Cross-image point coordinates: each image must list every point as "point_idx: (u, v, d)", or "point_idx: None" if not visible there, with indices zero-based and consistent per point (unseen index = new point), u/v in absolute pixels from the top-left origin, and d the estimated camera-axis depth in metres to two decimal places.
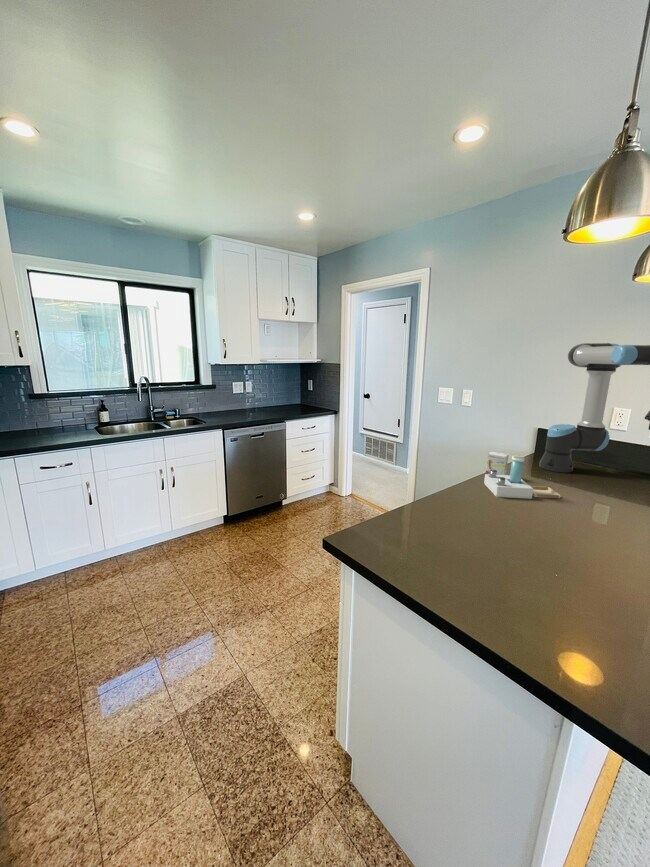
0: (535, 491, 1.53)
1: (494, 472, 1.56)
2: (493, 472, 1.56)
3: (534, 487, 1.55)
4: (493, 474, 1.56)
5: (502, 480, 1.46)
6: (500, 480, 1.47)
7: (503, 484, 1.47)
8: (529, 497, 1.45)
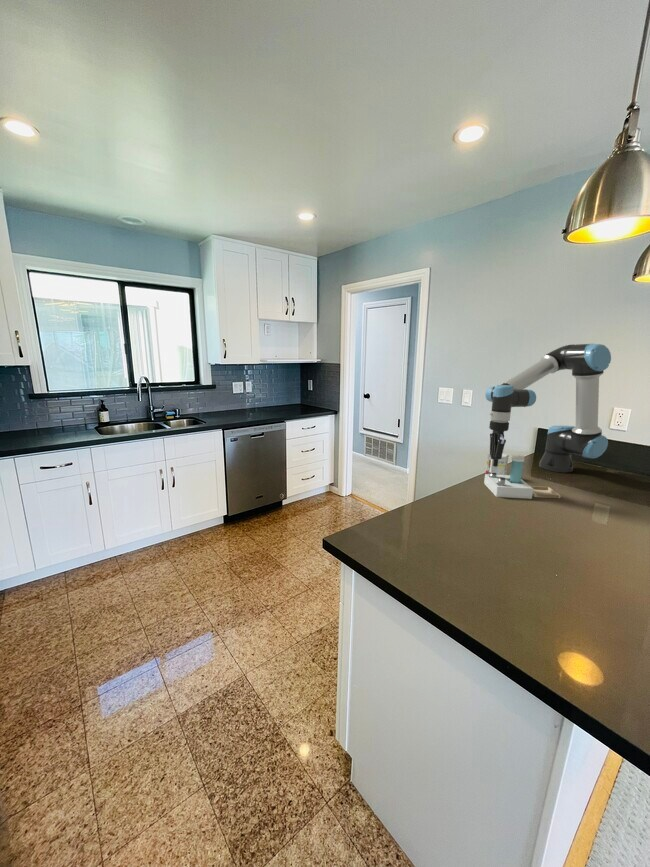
0: (535, 491, 1.53)
1: (494, 475, 1.56)
2: (493, 474, 1.56)
3: (534, 487, 1.55)
4: (492, 477, 1.57)
5: (502, 480, 1.46)
6: (500, 480, 1.47)
7: (503, 484, 1.47)
8: (529, 497, 1.45)
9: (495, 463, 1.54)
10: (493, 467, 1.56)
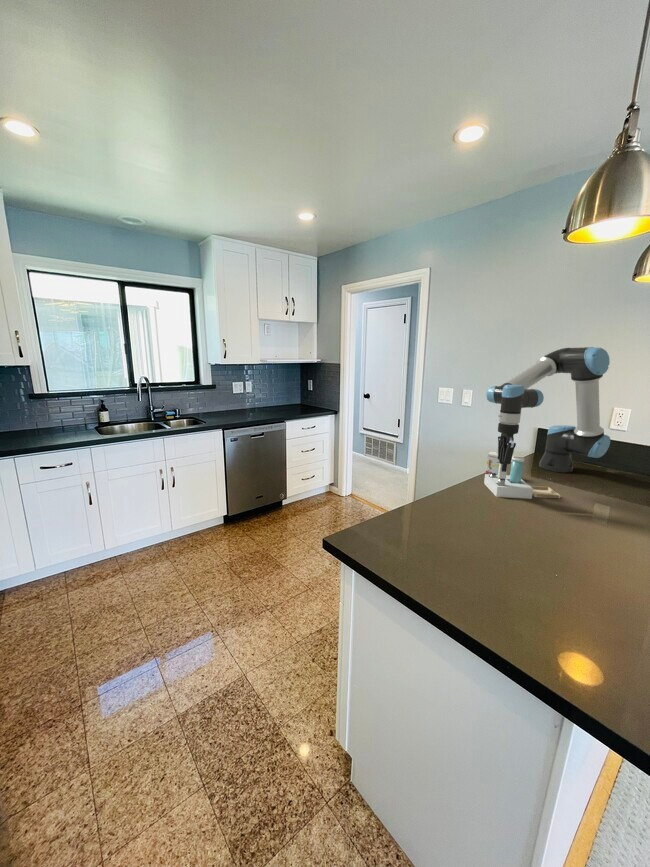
0: (535, 491, 1.53)
1: (494, 475, 1.56)
2: (493, 475, 1.57)
3: (534, 487, 1.55)
4: (492, 477, 1.57)
5: (502, 480, 1.46)
6: (500, 480, 1.47)
7: (503, 484, 1.47)
8: (529, 497, 1.45)
9: (504, 468, 1.45)
10: (501, 472, 1.46)
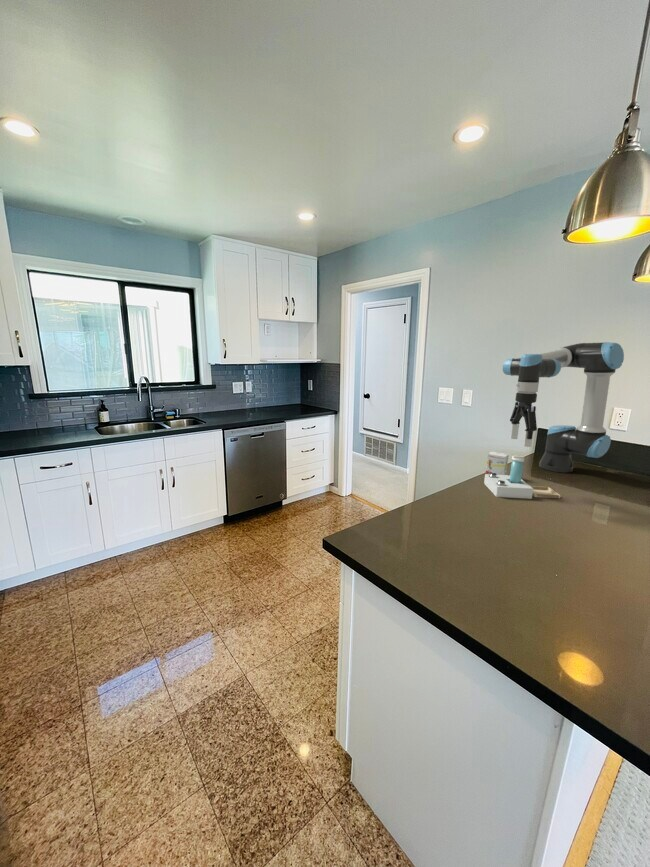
0: (535, 491, 1.53)
1: (494, 475, 1.56)
2: (493, 475, 1.57)
3: (534, 487, 1.55)
4: (492, 477, 1.57)
5: (502, 483, 1.47)
6: (500, 483, 1.47)
7: None
8: (529, 497, 1.45)
9: (529, 435, 1.39)
10: (527, 440, 1.41)
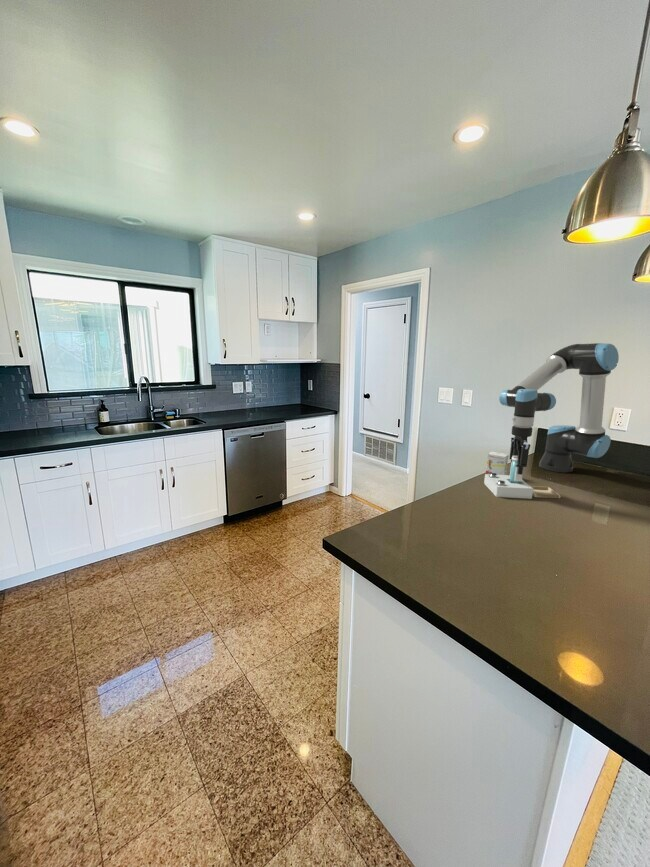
0: (535, 491, 1.53)
1: (494, 475, 1.56)
2: (493, 475, 1.57)
3: (534, 487, 1.55)
4: (492, 477, 1.57)
5: (502, 483, 1.47)
6: (500, 483, 1.47)
7: None
8: (529, 497, 1.45)
9: (520, 471, 1.47)
10: (517, 475, 1.49)
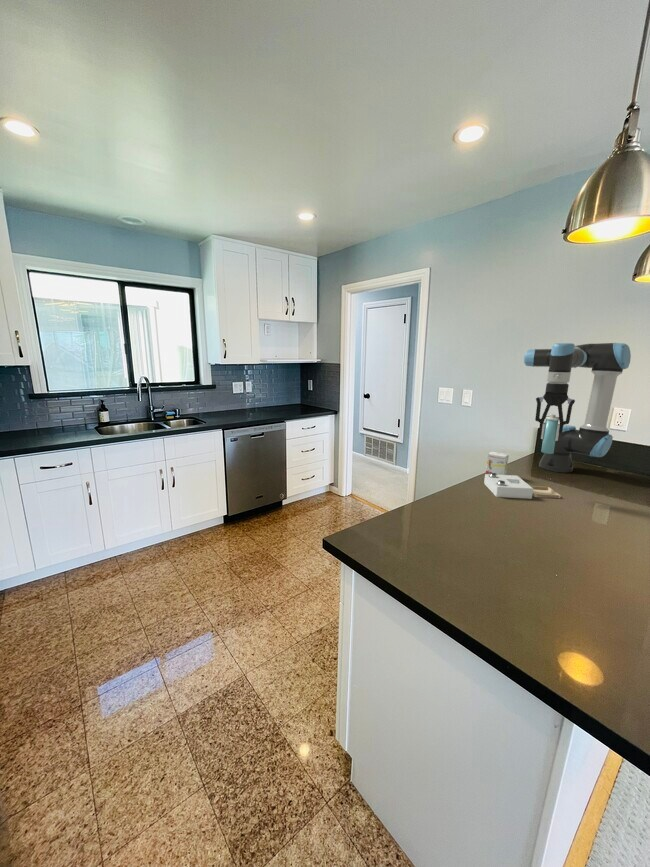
0: (535, 491, 1.53)
1: (494, 475, 1.56)
2: (493, 475, 1.57)
3: (534, 487, 1.55)
4: (492, 477, 1.57)
5: (502, 483, 1.47)
6: (500, 483, 1.47)
7: None
8: (529, 497, 1.45)
9: (562, 429, 1.42)
10: (558, 434, 1.43)
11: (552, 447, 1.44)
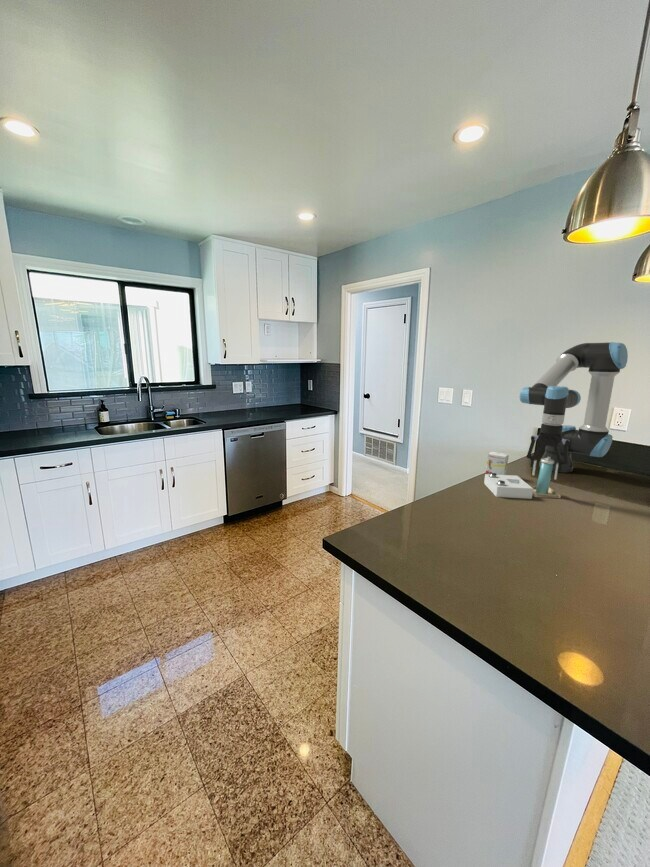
0: (535, 491, 1.53)
1: (494, 475, 1.56)
2: (493, 475, 1.57)
3: (534, 487, 1.55)
4: (492, 477, 1.57)
5: (502, 483, 1.47)
6: (500, 483, 1.47)
7: None
8: (529, 497, 1.45)
9: (561, 468, 1.45)
10: None
11: (546, 489, 1.48)
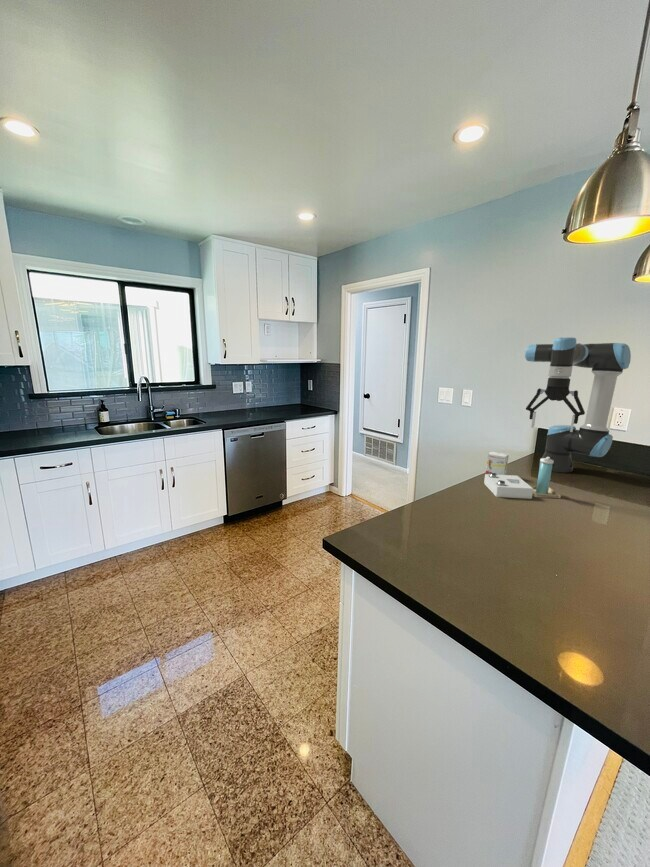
0: (535, 491, 1.53)
1: (494, 475, 1.56)
2: (493, 475, 1.57)
3: (534, 487, 1.55)
4: (492, 477, 1.57)
5: (502, 483, 1.47)
6: (500, 483, 1.47)
7: None
8: (529, 497, 1.45)
9: (577, 420, 1.39)
10: (573, 425, 1.40)
11: (546, 489, 1.48)
